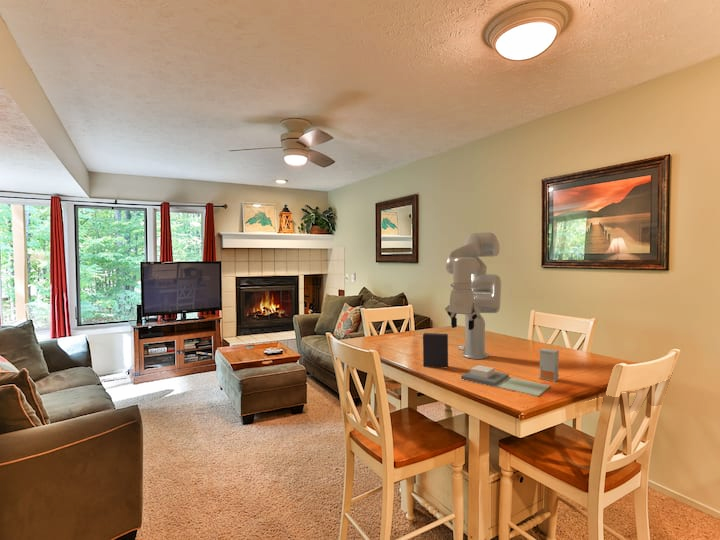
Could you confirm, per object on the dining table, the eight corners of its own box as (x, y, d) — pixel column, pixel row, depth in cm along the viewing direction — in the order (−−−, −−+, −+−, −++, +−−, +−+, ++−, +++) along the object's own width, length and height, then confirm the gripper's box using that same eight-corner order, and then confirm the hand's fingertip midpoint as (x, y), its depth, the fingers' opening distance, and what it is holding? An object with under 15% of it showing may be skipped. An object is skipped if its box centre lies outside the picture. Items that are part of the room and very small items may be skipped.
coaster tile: (470, 374, 159) (470, 368, 158) (478, 370, 164) (478, 365, 164) (487, 378, 154) (487, 372, 154) (494, 374, 159) (494, 368, 159)
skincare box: (539, 378, 157) (539, 349, 157) (543, 376, 160) (543, 347, 160) (555, 382, 153) (555, 352, 153) (558, 379, 156) (559, 350, 156)
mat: (494, 386, 148) (494, 385, 148) (508, 378, 159) (508, 377, 159) (538, 396, 138) (538, 395, 138) (550, 386, 148) (550, 385, 148)
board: (461, 379, 158) (461, 375, 158) (476, 371, 168) (476, 368, 168) (494, 386, 148) (494, 382, 148) (508, 378, 159) (508, 374, 159)
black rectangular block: (448, 365, 178) (447, 333, 177) (447, 368, 174) (447, 335, 173) (424, 364, 181) (423, 332, 180) (423, 366, 177) (422, 334, 176)
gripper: (439, 286, 167) (440, 327, 167) (477, 288, 155) (477, 332, 156) (448, 285, 172) (448, 325, 173) (485, 287, 161) (485, 329, 161)
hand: (462, 328), depth 164 cm, fingers open, 7 cm apart
